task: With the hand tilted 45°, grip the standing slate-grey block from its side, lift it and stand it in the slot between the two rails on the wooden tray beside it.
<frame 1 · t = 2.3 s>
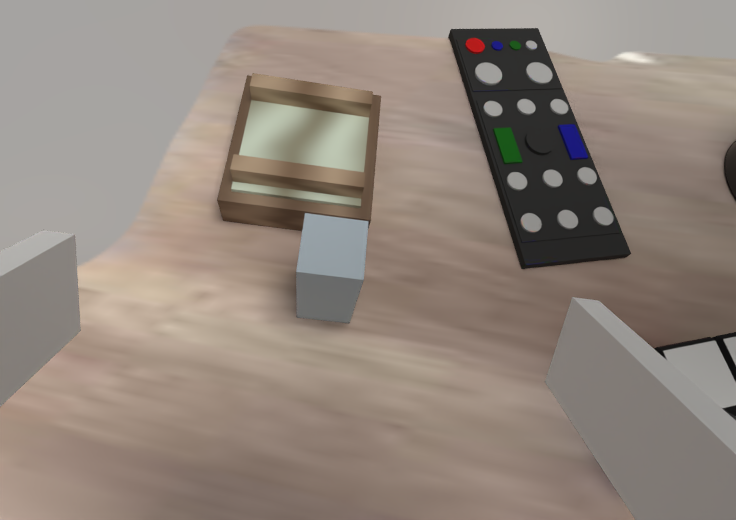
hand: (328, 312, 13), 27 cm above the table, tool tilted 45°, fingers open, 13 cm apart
wooden tray: (305, 166, 47), on the table
puzzle cube: (651, 422, 42), on the table
slate block: (326, 295, 42), on the table
remote control: (526, 140, 53), on the table
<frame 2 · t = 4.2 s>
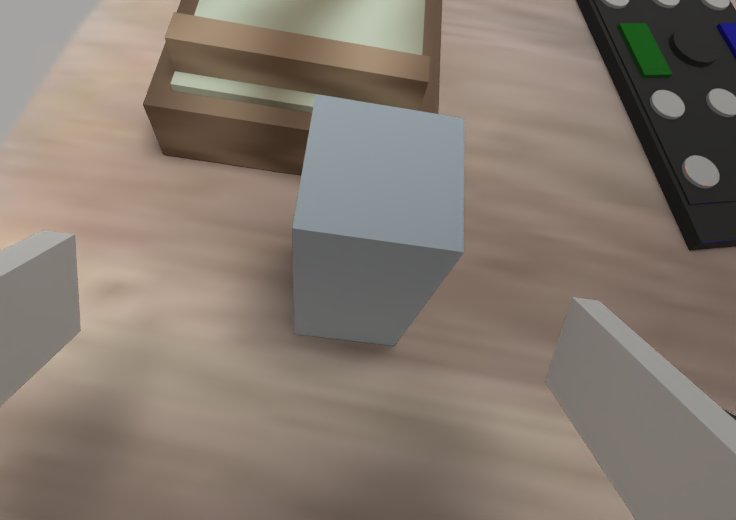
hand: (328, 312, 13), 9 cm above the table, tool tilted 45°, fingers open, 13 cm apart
wooden tray: (312, 72, 28), on the table
slate block: (350, 292, 23), on the table
remote control: (661, 51, 34), on the table
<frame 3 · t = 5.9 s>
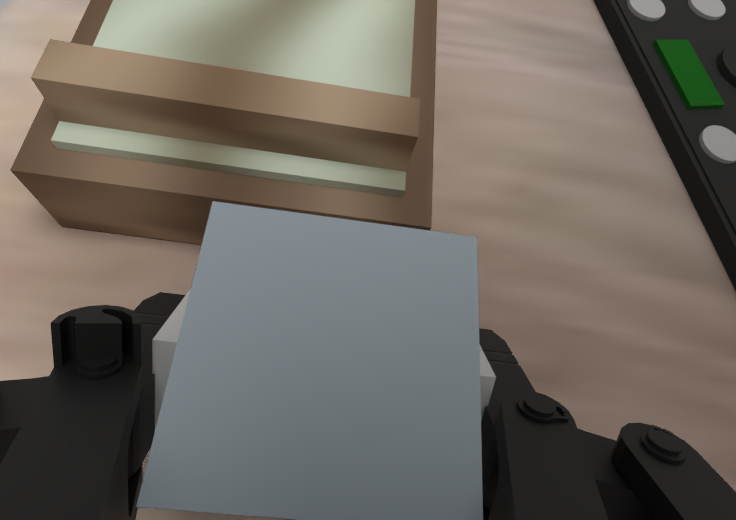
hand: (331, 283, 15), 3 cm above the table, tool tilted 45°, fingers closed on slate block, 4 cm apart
wooden tray: (270, 107, 21), on the table
slate block: (312, 423, 16), on the table, touching gripper
remote control: (702, 72, 28), on the table
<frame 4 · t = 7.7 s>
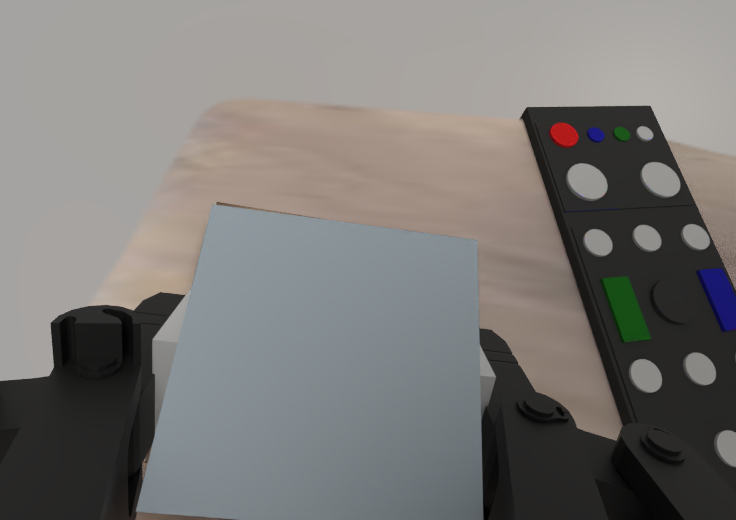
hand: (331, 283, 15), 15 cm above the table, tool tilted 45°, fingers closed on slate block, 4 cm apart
slate block: (312, 424, 16), point 12 cm above the table, touching gripper
remote control: (643, 288, 35), on the table
when the fingers open (9 cm above the table, at t = 9.5 s): slate block drops 1 cm, resting on wooden tray.
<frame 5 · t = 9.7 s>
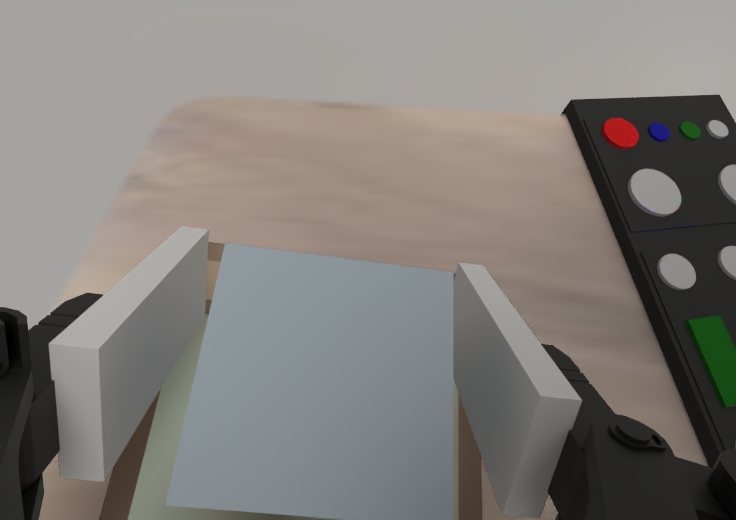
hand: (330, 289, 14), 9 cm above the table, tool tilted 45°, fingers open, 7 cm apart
wooden tray: (308, 436, 21), on the table
slate block: (311, 428, 18), point 4 cm above the table, touching wooden tray
remote control: (732, 326, 27), on the table
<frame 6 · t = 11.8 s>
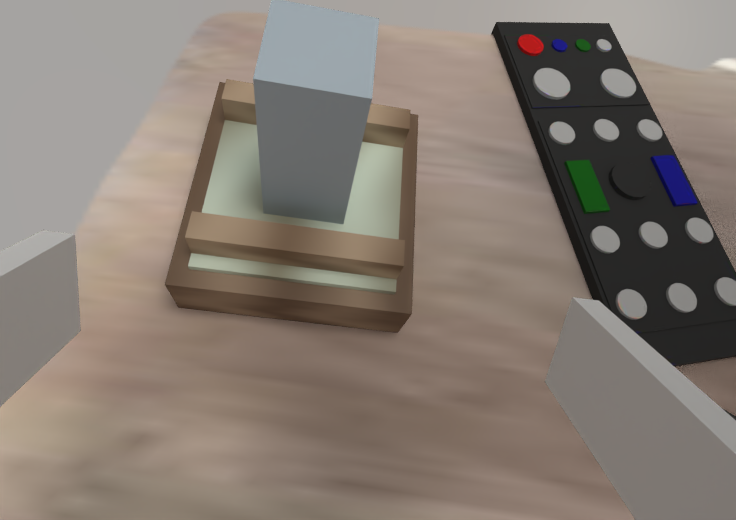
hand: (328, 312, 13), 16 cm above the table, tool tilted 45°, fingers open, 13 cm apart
wooden tray: (305, 218, 32), on the table
slate block: (308, 185, 28), point 4 cm above the table, touching wooden tray
remote control: (604, 176, 39), on the table
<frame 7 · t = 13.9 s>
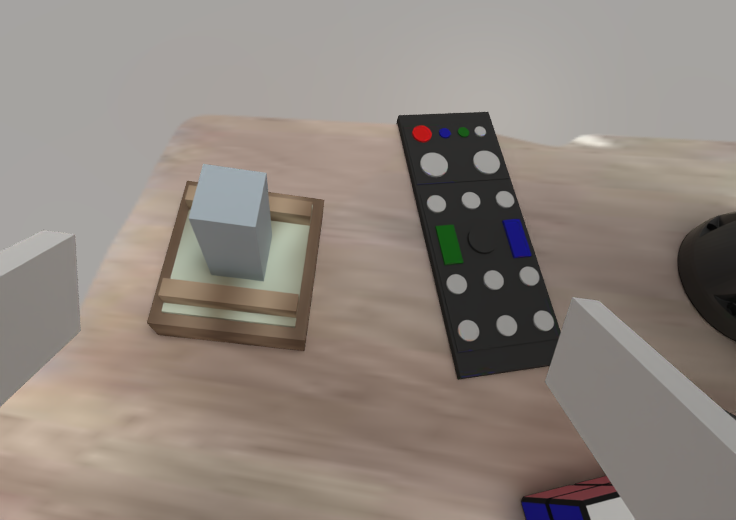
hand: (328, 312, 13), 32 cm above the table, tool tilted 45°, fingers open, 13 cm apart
wooden tray: (246, 271, 47), on the table
slate block: (242, 254, 43), point 4 cm above the table, touching wooden tray
remote control: (471, 234, 53), on the table
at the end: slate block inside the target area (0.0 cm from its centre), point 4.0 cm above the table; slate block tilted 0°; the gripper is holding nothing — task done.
